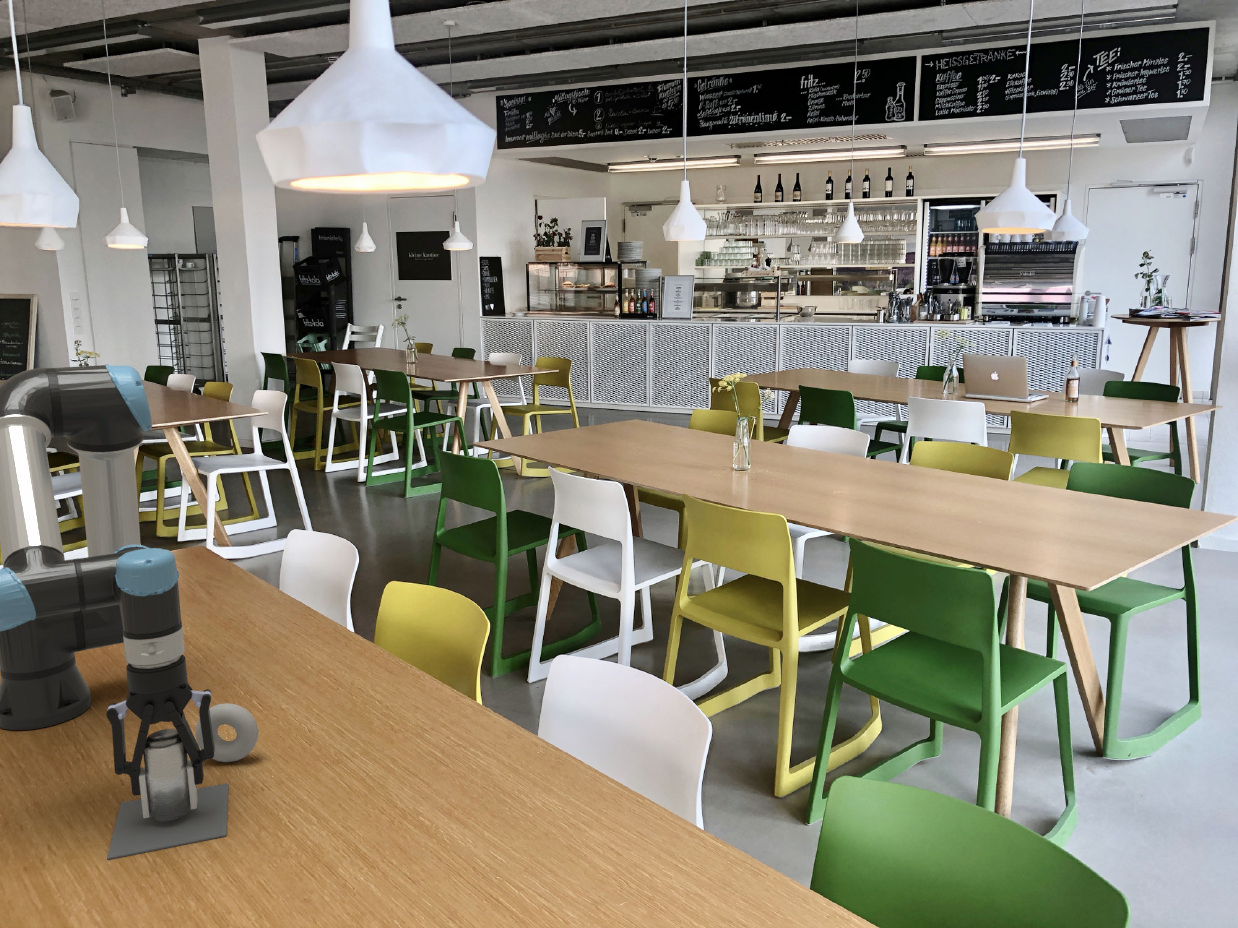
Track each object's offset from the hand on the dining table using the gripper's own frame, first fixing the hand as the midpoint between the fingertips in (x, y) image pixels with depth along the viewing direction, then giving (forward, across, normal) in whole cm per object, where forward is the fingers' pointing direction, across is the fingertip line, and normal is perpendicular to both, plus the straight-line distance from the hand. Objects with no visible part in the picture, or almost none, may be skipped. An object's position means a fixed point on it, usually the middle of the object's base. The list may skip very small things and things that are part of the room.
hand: (170, 808), depth 135 cm
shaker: (0, 0, 0) cm, 0 cm away
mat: (+2, 0, 0) cm, 2 cm away
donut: (+2, +8, +16) cm, 17 cm away
